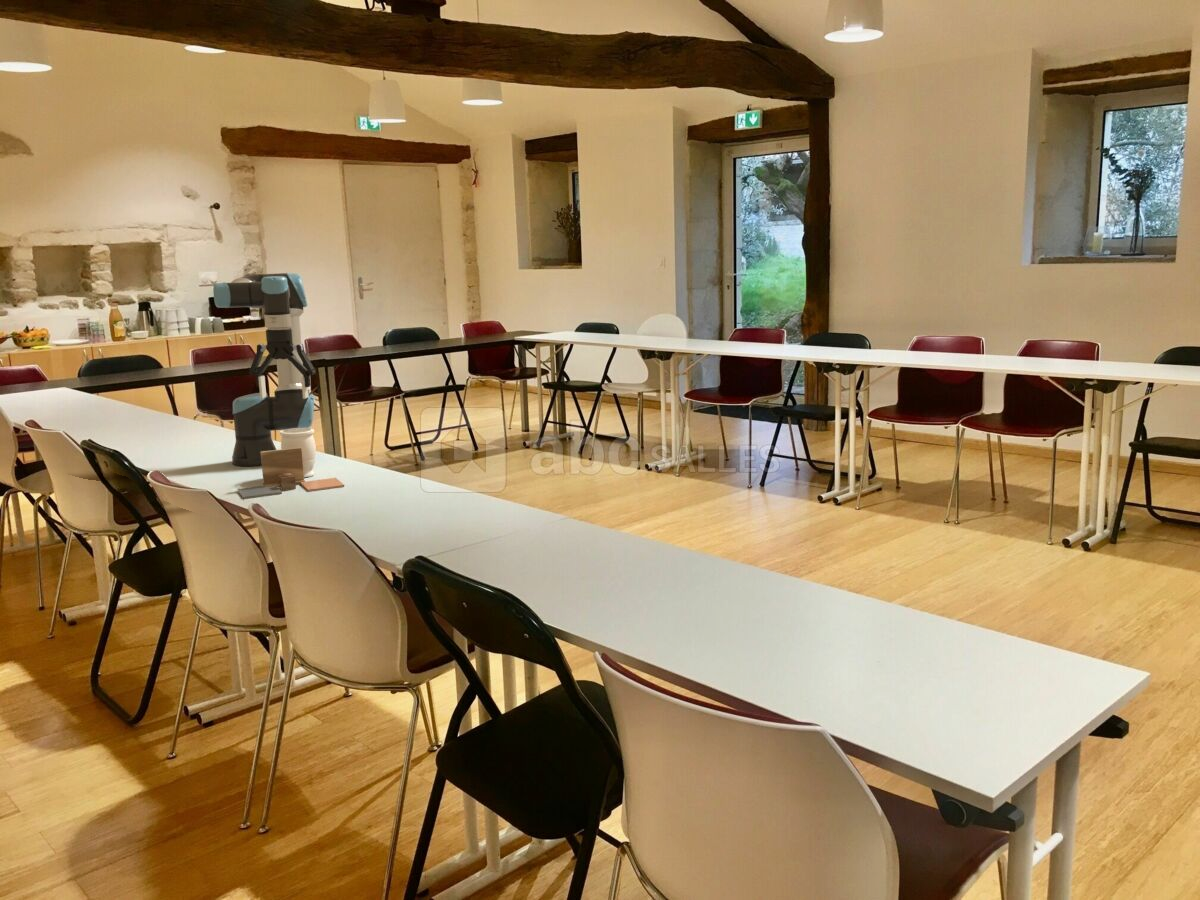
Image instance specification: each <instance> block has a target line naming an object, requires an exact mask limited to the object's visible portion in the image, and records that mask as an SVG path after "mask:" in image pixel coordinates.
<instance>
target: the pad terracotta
mask: <svg viewBox="0 0 1200 900" xmlns="http://www.w3.org/2000/svg"><path fill="white" fill-rule="evenodd" d="M299 485H300V486H302V487H303V488H304V489H305V490H306V491H307V492H314V491H316V492H317V491H321V490H322V491H323V490H331V489H339V488H344V487H345V484H344V483H343V482H342V481H340V479H338V478H337V477H331V478H323V479H321V478H320V479H315V480H307V481H306V480H305V482H300V484H299Z"/></svg>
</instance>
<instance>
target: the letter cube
mask: <svg viewBox="0 0 1200 900" xmlns="http://www.w3.org/2000/svg"><path fill="white" fill-rule="evenodd" d="M279 482H280V487H279V489H280V490H281V492H282V491H291V490H296V488H297V485H296V483H295V476H294V475H293V474H291V473H286V474H282V475H279Z"/></svg>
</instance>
